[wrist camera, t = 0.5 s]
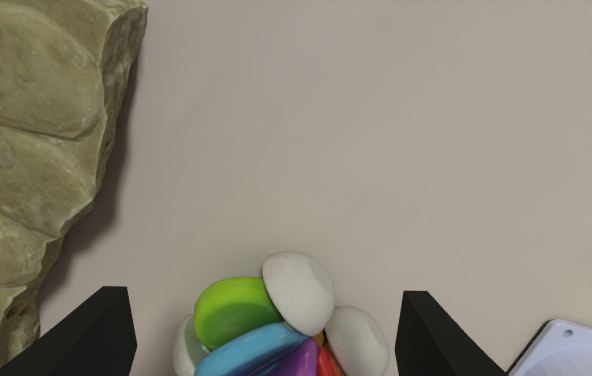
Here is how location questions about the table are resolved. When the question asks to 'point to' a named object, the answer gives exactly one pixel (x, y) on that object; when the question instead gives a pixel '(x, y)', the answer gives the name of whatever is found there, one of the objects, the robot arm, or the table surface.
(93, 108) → the folded green towel
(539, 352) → the robot arm
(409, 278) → the table surface
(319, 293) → the multicoloured spiky piece
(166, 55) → the table surface
